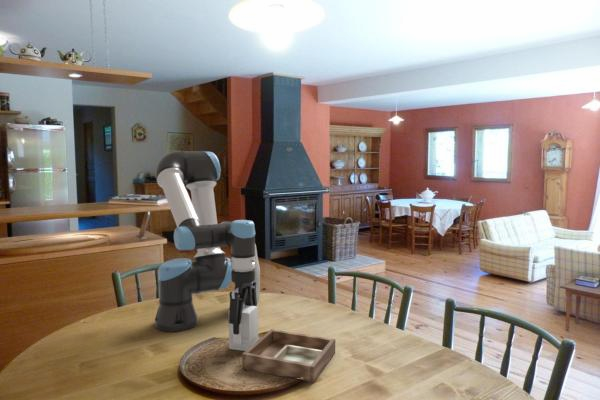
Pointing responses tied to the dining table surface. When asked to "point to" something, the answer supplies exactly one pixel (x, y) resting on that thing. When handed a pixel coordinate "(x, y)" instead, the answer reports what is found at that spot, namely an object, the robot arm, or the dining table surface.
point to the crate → (289, 355)
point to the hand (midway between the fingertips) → (243, 338)
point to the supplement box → (246, 329)
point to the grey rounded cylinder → (257, 276)
